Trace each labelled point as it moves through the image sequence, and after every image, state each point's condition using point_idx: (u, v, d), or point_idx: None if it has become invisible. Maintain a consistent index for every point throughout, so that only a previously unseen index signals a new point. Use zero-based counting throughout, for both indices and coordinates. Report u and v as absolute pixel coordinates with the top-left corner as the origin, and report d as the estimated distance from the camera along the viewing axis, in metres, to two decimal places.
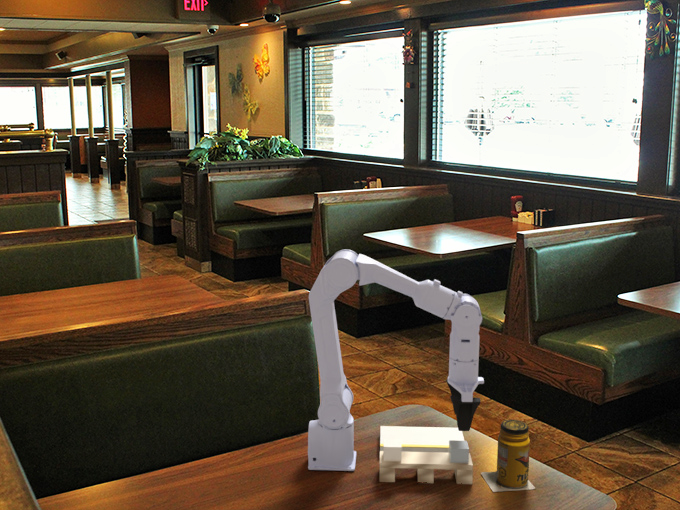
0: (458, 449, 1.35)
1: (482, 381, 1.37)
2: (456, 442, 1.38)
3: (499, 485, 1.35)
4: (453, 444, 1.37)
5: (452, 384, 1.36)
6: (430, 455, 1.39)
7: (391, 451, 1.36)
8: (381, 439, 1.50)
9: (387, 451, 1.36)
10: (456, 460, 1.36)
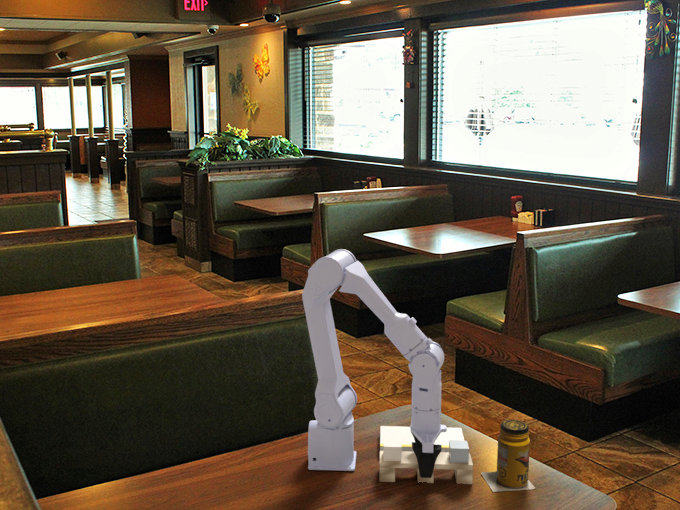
0: (458, 449, 1.35)
1: (445, 429, 1.36)
2: (456, 441, 1.38)
3: (499, 485, 1.35)
4: (453, 444, 1.37)
5: (414, 433, 1.35)
6: None
7: (391, 451, 1.36)
8: (381, 439, 1.50)
9: (387, 451, 1.36)
10: (456, 460, 1.36)
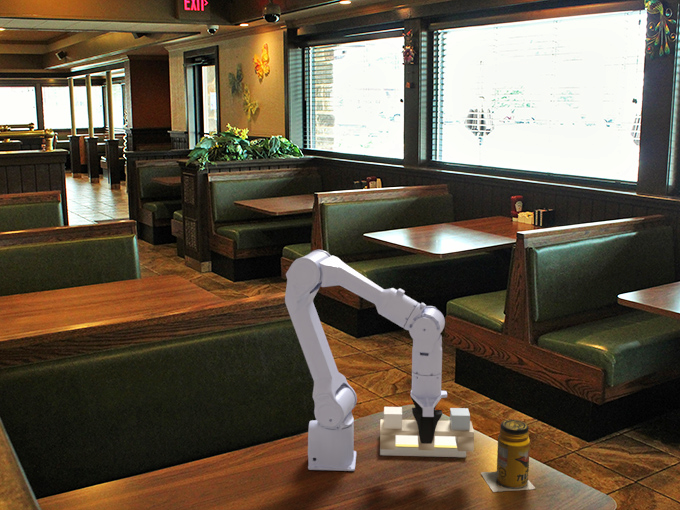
0: (459, 416, 1.34)
1: (445, 395, 1.35)
2: (457, 409, 1.37)
3: (499, 485, 1.35)
4: (454, 411, 1.36)
5: (414, 398, 1.34)
6: None
7: (391, 419, 1.35)
8: None
9: (388, 419, 1.35)
10: (457, 427, 1.35)
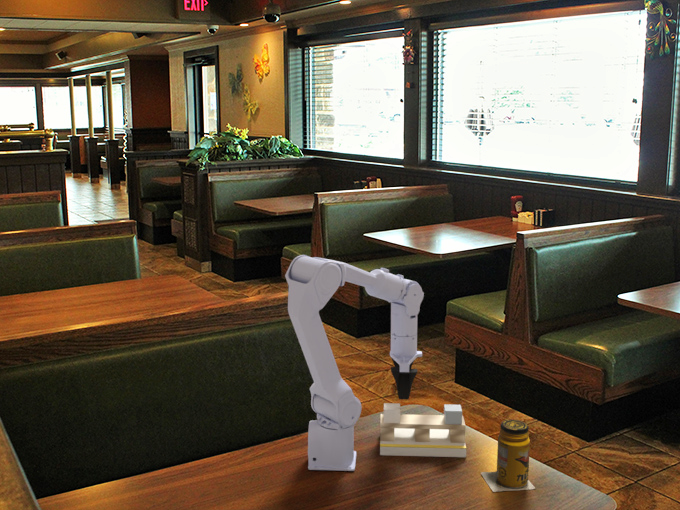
0: (452, 411, 1.48)
1: (420, 354, 1.52)
2: (450, 405, 1.51)
3: (499, 485, 1.35)
4: (448, 407, 1.50)
5: (393, 357, 1.51)
6: (426, 417, 1.52)
7: (390, 414, 1.49)
8: None
9: (387, 414, 1.49)
10: (450, 422, 1.48)
